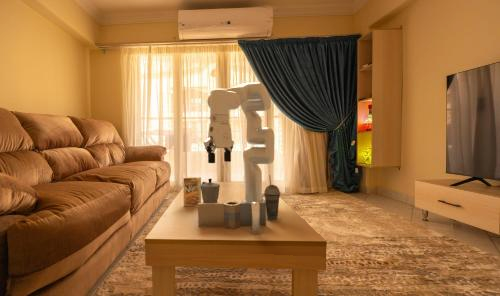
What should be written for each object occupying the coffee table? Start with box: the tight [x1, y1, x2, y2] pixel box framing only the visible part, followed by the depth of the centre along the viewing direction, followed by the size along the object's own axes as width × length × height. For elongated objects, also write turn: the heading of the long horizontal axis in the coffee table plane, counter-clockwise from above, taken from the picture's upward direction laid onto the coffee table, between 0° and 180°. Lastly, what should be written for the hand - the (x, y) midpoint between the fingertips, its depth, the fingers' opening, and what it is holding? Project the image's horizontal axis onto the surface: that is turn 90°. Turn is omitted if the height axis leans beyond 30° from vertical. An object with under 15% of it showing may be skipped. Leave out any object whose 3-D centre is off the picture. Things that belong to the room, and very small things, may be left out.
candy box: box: [182, 176, 202, 207], centre depth 148 cm, size 9×4×15 cm, turn 87°
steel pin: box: [251, 202, 261, 236], centre depth 104 cm, size 3×3×12 cm
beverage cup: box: [263, 174, 281, 222], centre depth 121 cm, size 7×7×20 cm
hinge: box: [197, 200, 267, 230], centre depth 112 cm, size 28×7×10 cm, turn 92°
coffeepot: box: [201, 178, 221, 203], centre depth 126 cm, size 15×9×18 cm, turn 33°
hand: (219, 162), depth 110 cm, fingers open, 9 cm apart
